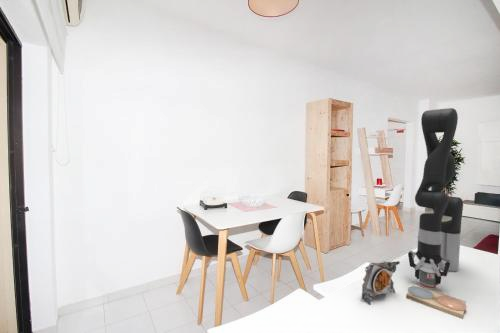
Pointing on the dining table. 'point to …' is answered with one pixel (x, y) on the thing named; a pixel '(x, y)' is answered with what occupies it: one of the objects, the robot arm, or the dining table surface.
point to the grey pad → (420, 292)
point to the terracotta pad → (451, 303)
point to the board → (436, 303)
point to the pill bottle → (427, 276)
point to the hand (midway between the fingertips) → (427, 280)
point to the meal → (378, 279)
